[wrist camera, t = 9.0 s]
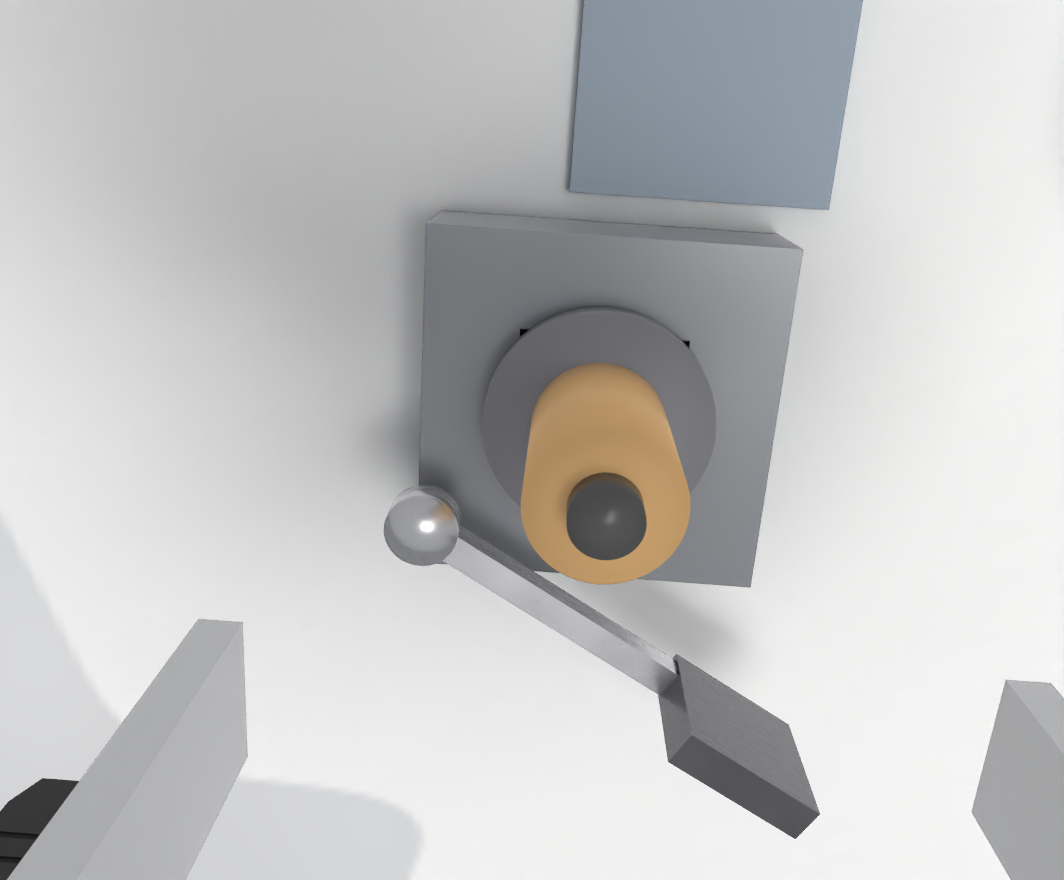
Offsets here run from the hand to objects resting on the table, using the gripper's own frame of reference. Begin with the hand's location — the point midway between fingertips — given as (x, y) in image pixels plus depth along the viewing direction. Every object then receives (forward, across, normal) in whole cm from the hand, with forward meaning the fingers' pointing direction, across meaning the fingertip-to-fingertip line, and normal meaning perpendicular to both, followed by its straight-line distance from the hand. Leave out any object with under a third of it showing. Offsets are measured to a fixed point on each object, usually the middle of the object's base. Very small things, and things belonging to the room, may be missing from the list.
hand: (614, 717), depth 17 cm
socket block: (+21, 0, 0) cm, 21 cm away
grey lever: (+15, +1, -7) cm, 17 cm away
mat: (+21, +3, +12) cm, 24 cm away
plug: (+21, 0, 0) cm, 21 cm away
